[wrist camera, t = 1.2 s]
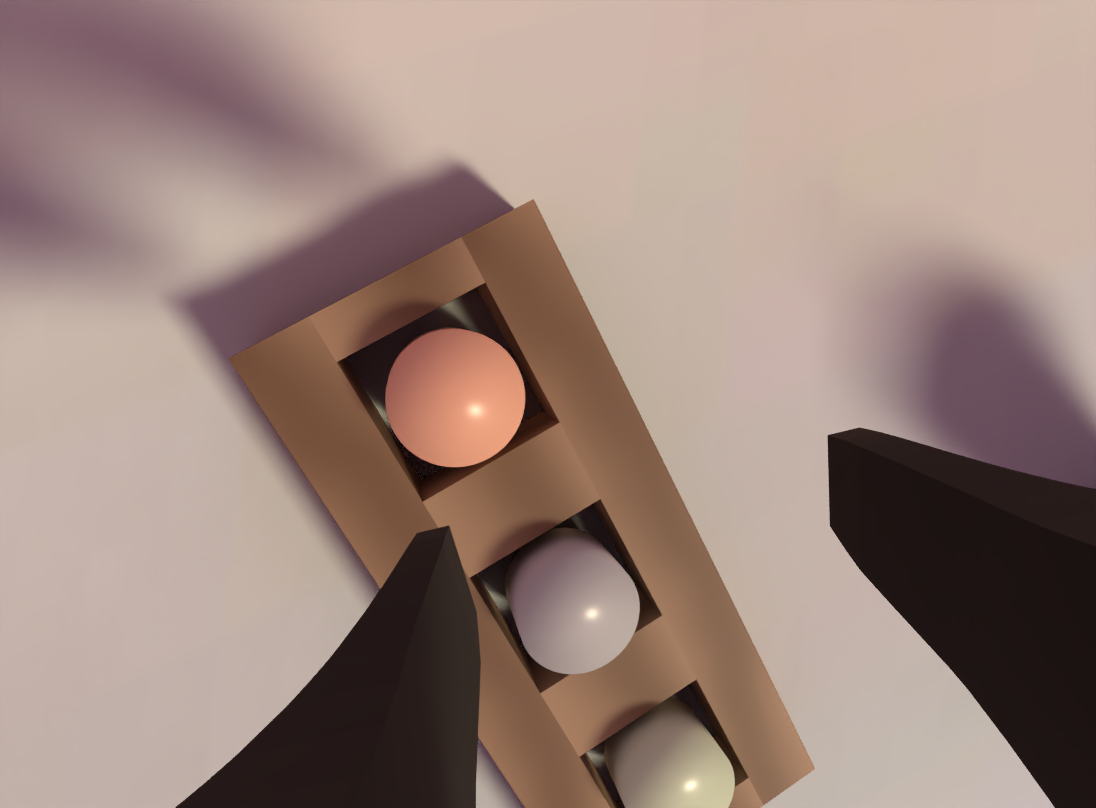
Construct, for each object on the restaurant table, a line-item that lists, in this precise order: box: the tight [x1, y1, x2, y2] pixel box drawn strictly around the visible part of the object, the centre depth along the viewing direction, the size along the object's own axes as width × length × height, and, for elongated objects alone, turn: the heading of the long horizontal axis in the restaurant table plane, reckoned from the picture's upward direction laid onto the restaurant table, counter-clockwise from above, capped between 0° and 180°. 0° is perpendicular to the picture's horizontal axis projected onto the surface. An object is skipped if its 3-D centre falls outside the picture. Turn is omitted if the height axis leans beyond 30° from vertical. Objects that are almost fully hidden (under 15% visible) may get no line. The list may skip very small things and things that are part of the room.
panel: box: [228, 199, 815, 808], centre depth 22 cm, size 10×24×2 cm, turn 28°
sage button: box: [605, 697, 735, 808], centre depth 23 cm, size 4×4×3 cm
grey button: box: [505, 528, 640, 674], centre depth 21 cm, size 4×4×3 cm
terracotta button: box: [385, 327, 525, 467], centre depth 19 cm, size 4×4×3 cm
